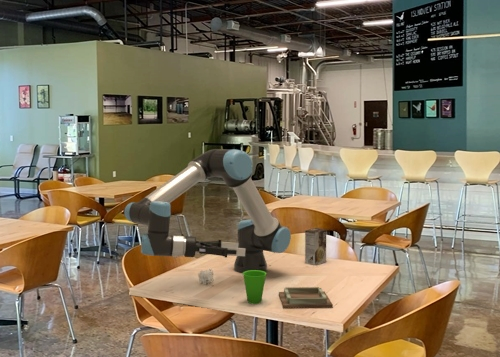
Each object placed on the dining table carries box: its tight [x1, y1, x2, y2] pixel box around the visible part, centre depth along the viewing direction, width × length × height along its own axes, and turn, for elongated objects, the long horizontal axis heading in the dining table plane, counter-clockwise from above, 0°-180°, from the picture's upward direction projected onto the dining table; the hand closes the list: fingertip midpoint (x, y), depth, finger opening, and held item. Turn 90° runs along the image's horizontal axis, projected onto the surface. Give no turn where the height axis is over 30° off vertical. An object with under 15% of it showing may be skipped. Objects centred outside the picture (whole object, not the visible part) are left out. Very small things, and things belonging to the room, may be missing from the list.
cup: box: [242, 270, 267, 305], centre depth 207 cm, size 9×9×11 cm
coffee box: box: [304, 227, 327, 266], centre depth 267 cm, size 9×6×16 cm
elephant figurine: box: [198, 268, 214, 285], centre depth 231 cm, size 7×8×6 cm
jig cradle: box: [278, 286, 334, 309], centre depth 209 cm, size 16×18×3 cm
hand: (241, 249), depth 206 cm, fingers open, 13 cm apart
